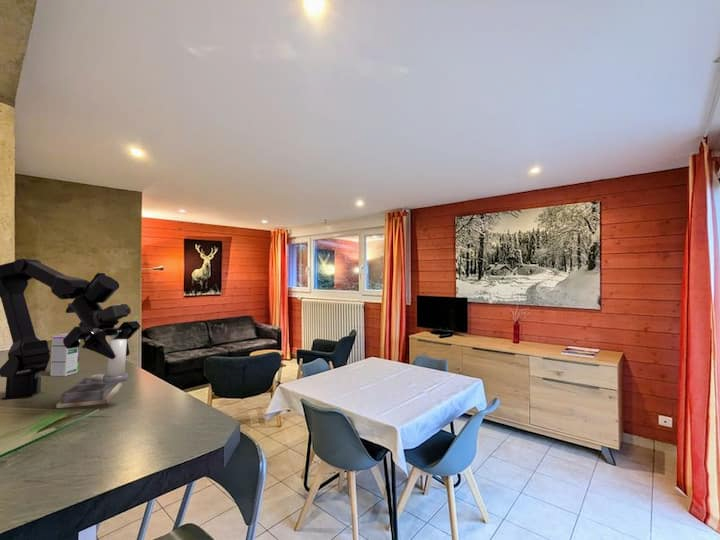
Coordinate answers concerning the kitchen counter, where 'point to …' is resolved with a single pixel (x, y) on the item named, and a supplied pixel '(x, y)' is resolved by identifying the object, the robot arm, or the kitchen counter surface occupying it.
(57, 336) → the syrup box
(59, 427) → the kitchen counter surface
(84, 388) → the grey compartment tray
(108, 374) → the white bulb
